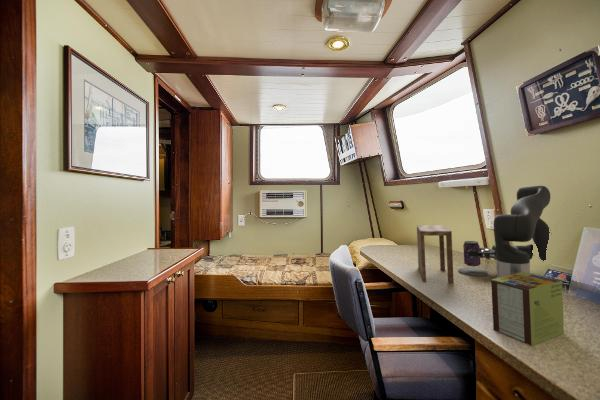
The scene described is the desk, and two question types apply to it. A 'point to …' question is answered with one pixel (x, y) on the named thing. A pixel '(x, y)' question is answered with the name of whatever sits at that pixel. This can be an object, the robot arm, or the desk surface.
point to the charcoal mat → (472, 271)
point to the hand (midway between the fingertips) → (466, 252)
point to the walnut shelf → (441, 232)
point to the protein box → (527, 307)
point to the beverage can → (471, 247)
